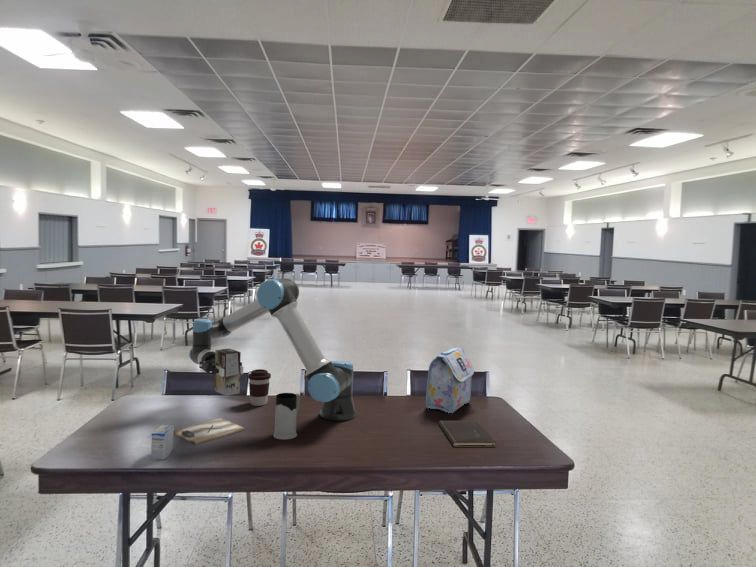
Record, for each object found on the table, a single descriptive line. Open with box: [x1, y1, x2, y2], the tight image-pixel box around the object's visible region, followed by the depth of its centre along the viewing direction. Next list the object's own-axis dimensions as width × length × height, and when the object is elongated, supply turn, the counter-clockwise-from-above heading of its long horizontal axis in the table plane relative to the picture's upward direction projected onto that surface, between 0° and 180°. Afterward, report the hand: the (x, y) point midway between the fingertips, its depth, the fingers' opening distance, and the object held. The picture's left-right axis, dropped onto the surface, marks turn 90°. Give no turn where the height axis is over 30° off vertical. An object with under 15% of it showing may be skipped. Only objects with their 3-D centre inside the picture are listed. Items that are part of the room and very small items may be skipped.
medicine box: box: [150, 424, 175, 461], centre depth 155 cm, size 8×4×9 cm, turn 5°
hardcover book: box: [438, 420, 497, 447], centre depth 184 cm, size 16×23×2 cm
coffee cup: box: [247, 368, 272, 407], centre depth 213 cm, size 10×10×15 cm
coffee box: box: [214, 348, 242, 397], centre depth 182 cm, size 9×6×16 cm
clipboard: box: [174, 417, 246, 445], centre depth 178 cm, size 16×20×2 cm
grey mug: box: [272, 392, 301, 440], centre depth 179 cm, size 9×14×15 cm, turn 160°
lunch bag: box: [425, 347, 475, 414], centre depth 220 cm, size 22×17×26 cm
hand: (232, 371), depth 179 cm, fingers closed on coffee box, 7 cm apart
